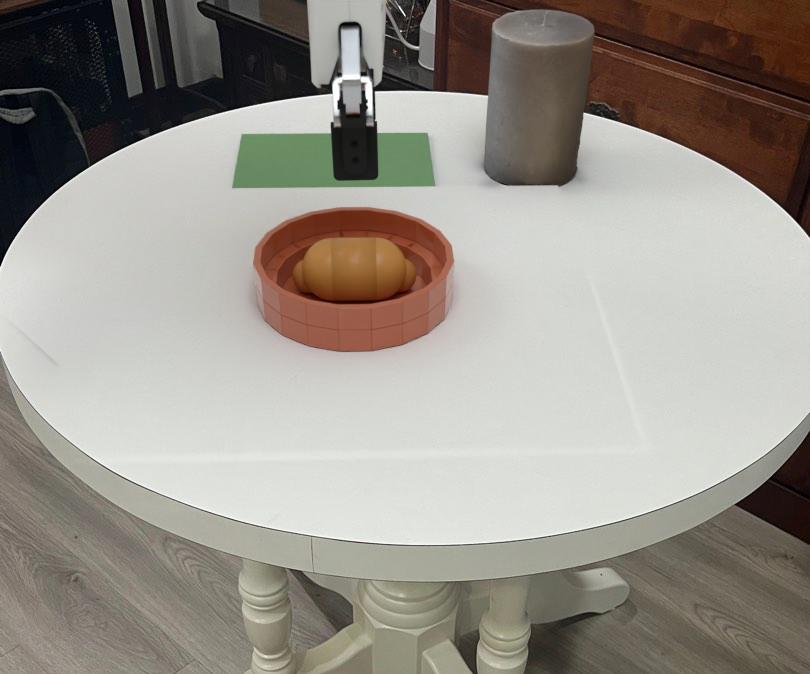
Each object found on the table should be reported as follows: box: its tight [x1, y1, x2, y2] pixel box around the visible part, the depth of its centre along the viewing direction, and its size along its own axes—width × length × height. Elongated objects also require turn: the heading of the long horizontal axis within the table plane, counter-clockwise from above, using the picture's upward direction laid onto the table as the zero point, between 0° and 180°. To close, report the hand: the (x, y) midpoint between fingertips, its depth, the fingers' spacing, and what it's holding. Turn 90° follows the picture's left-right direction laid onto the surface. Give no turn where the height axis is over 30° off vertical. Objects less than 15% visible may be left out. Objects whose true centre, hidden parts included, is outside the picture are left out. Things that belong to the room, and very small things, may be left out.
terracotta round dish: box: [252, 206, 455, 352], centre depth 82 cm, size 16×16×4 cm
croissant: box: [292, 237, 417, 301], centre depth 82 cm, size 10×5×5 cm, turn 92°
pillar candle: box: [483, 9, 596, 187], centre depth 97 cm, size 10×10×15 cm
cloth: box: [231, 132, 436, 189], centre depth 102 cm, size 20×13×1 cm, turn 92°
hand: (355, 149), depth 75 cm, fingers open, 9 cm apart
